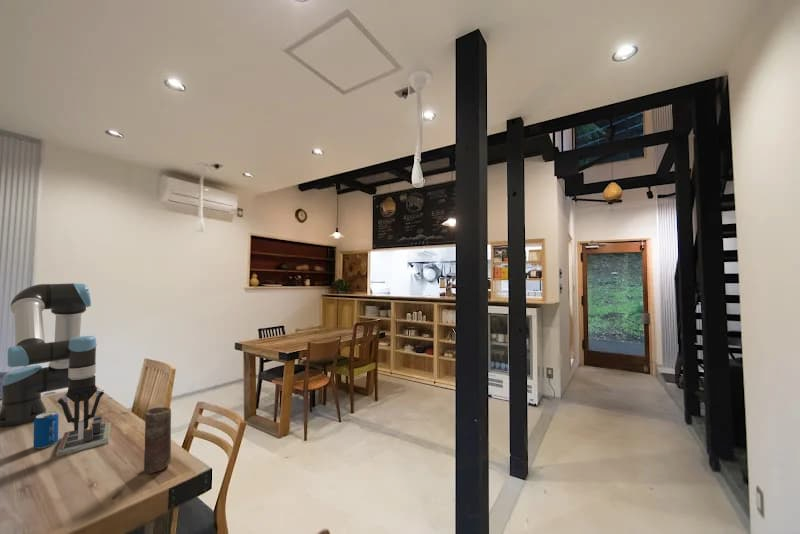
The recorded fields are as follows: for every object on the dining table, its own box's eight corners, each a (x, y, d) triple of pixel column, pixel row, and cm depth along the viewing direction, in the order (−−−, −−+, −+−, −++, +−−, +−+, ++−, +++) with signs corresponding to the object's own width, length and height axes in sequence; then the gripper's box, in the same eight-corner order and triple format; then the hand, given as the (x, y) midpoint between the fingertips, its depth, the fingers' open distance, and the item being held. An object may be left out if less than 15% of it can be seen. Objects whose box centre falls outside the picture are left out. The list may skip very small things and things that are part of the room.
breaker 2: (92, 430, 130) (93, 420, 130) (100, 428, 132) (101, 419, 132) (92, 434, 128) (92, 424, 128) (100, 432, 129) (100, 422, 129)
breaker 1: (94, 425, 135) (94, 415, 135) (101, 423, 136) (102, 414, 136) (93, 428, 132) (93, 418, 132) (101, 426, 134) (101, 417, 134)
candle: (154, 461, 113) (154, 405, 113) (175, 460, 113) (176, 404, 114) (138, 475, 105) (139, 415, 106) (161, 474, 106) (162, 414, 106)
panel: (64, 437, 130) (64, 432, 130) (110, 426, 139) (110, 421, 139) (56, 456, 116) (56, 450, 116) (108, 443, 125) (108, 437, 125)
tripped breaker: (84, 438, 124) (84, 427, 125) (92, 436, 126) (92, 425, 126) (83, 441, 122) (83, 430, 122) (91, 439, 123) (92, 428, 123)
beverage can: (41, 450, 120) (42, 419, 121) (28, 448, 122) (29, 417, 122) (62, 441, 127) (63, 411, 127) (50, 440, 128) (50, 410, 128)
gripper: (55, 383, 116) (54, 447, 115) (104, 375, 124) (103, 436, 124) (59, 378, 122) (58, 439, 121) (105, 371, 130) (104, 428, 130)
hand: (81, 437), depth 123 cm, fingers closed
